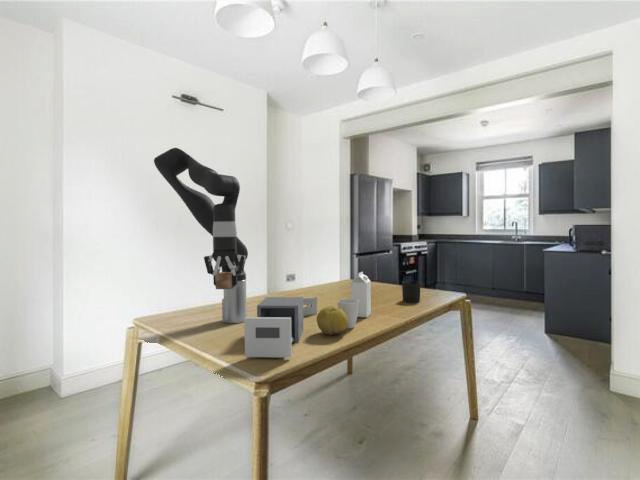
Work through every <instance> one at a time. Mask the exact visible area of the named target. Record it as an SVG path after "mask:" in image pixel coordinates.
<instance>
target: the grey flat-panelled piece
mask: <svg viewBox="0 0 640 480" xmlns="http://www.w3.org/2000/svg"><path fill="white" fill-rule="evenodd" d="M243 323H244V325H243V326H244V357H245V358H292V357H293V354H292V353H293V352H292V350H293V349H292V347H293V346H292V345H293V344H292V343H293V342H292V341H293V337H291V317H257V316H256V317H255V316H253V317H251V316H250V317H249V316H247V317H245V318H244V322H243Z"/></svg>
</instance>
